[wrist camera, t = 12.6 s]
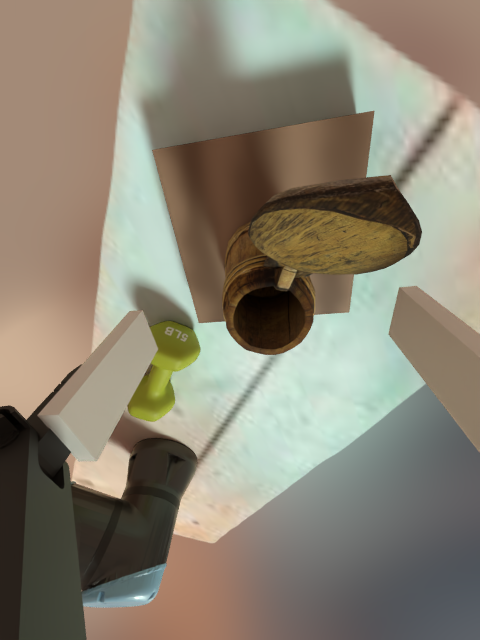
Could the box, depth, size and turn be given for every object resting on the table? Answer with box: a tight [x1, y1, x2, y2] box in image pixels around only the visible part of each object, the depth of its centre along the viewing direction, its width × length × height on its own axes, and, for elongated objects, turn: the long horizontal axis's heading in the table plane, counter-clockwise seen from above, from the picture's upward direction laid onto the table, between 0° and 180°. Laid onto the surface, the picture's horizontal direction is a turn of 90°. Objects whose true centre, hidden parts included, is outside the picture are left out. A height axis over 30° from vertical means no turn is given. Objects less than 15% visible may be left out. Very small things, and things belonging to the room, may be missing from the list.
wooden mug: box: [222, 175, 422, 355], centre depth 17 cm, size 9×14×18 cm, turn 165°
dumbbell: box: [127, 321, 200, 422], centre depth 37 cm, size 16×8×7 cm, turn 154°
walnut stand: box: [152, 111, 374, 323], centre depth 26 cm, size 18×18×4 cm
